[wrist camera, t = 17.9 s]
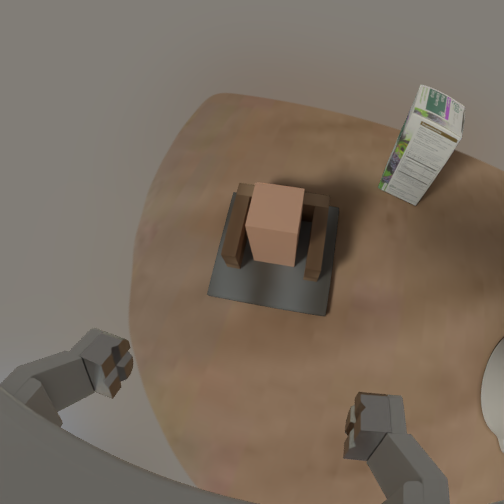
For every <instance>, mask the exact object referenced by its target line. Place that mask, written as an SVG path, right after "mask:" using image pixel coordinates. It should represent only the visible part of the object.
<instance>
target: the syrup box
mask: <svg viewBox="0 0 504 504" xmlns="http://www.w3.org/2000/svg"><path fill="white" fill-rule="evenodd" d="M464 121H465V107H464V106H463V105H462V104H460V103H459V102H457V101H456V100H454V99H453V98H451V97H449V96H447V95H445V94H444V93H442V92H440V91H438V90H435V89H433V88H431V87H428V86H425V85H422V84H421V85H420V87H419V90H418V92H417V95H416V97H415V100H414V102H413V104H412V107H411V109H410V111H409V114H408V116H407V118H406V121H405V123H404V125H403V127H402V129H401V132H400V134H399V137H398V139H397V141H396V144H395V146H394V148H393V151H392V153H391V155H390V158H389V160H388V162H387V165H386V167H385V170H384V172H383V175H382V178H381V180H380V183H379V186H378V188H379V189H381V190H383V191H385V192H387V193H389V194H392V195H394V196H396V197H398V198H400V199H402V200H404V201H406V202H408V203H411V204H413V205H415V206H416V205H417V203H418V202H419V201H420V199H421V198H422V197H423V195H424V194H425V192H426V191H427V190H428V188H429V187H430V185H431V184H432V182H433V181H434V180H435V178H436V177H437V175H438V174H439V172H440V171H441V169H442V168H443V166H444V165H445V164H446V162H447V160H448V159H449V158H450V156H451V154H452V153H453V151H454V150H455V148H456V147H457V145H458V143H459V142H460V140H461V139H462V133H463V127H464Z"/></svg>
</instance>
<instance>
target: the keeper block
mask: <svg viewBox="0 0 504 504" xmlns="http://www.w3.org/2000/svg"><path fill="white" fill-rule="evenodd" d="M304 190H305V189H303V188H296V187H289V186H282V185H275V184H268V183H260V182H256V183H255V187H254V191H253V195H252V199H251V203H250V207H249V212H248V216H247V220H246V224H245V227H246V231H247V235H248V239H249V243H250V247H251V250H252V254H253V258H254V260H255V261H261V262H267V263H273V264H279V265H285V266H291V267H294V265H295V259H296V253H297V247H298V241H299V235H300V228H301V219H302V210H303V200H304Z"/></svg>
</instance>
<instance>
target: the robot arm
mask: <svg viewBox="0 0 504 504" xmlns="http://www.w3.org/2000/svg"><path fill="white" fill-rule="evenodd" d="M129 349H130V344H129V341H128V340H126V339H123V338H121V337H118V336H116V335H113V334H110V333H108V332H105V331H102V330H99V329H97V328H93V329H91V330H90V331H89V332H88V333H87V334H86V335H85V336H84V337H83V338H82V339H81V340H80V341H79V342H78V343H77V344H76V345H75V346H74V347H73V348H72V349H71V350H70V351H69V352H68V351H63V352H61V353H58V354H55V355H52V356H48V357H45V358H42V359H39V360H36V361H33V362H31V363H27V364H24V365H21V366H18V367H17V368H16V369H15V370H14V371H13V372H12V373H11V374H10V375H9V376H8V377H7V378H6V379H5V380H4V381H3V382H2V383H1V384H0V504H258V503H253V502H248V501H244V500H240V499H235V498H231V497H227V496H223V495H220V494H216V493H212V492H209V491H205V490H202V489H199V488H196V487H192V486H189V485H186V484H183V483H180V482H177V481H174V480H171V479H168V478H166V477H163V476H160V475H158V474H155V473H153V472H150V471H148V470H145V469H143V468H140V467H138V466H135V465H133V464H131V463H129V462H127V461H124V460H122V459H120V458H118V457H116V456H113V455H111V454H109V453H107V452H105V451H103V450H101V449H99V448H97V447H95V446H93V445H91V444H89V443H87V442H85V441H84V440H82V439H80V438H78V437H76V436H74V435H73V434H71V433H69V432H68V431H66V430H64V429H62V428H61V425H62V424H63V423H62V420H61V418H60V416H59V415H58V413H57V412H58V411H60V410H62V409H64V408H66V407H68V406H70V405H72V404H74V403H75V402H77V401H79V400H81V399H83V398H85V397H87V396H89V395H91V394H93V393H94V391H95V392H97V393H99V394H102V395H105V396H107V397H109V398H112V399H113V398H114V396H115V395H116V393H117V392H118V391H119V389H120V388H121V381H123V380H126V379H127V378H128V377H129V375H130V374H131V371H132V368H133V357H132V355H131V354H130V353H129V352H128V350H129ZM481 405H482V412H483V416H484V419H485V421H486V423H487V425H488V427H489V428H490V430H491V431H492V432H493V433H494V434H495V435H496V436H497V438H498V441H499V445H500V449H501V451H502V452H503V453H504V338H503V339H502V340H501V341H500V342H499V344H498V345H497V346H496V348H495V349H494V351H493V353H492V354H491V356H490V359H489V361H488V363H487V366H486V369H485V372H484V376H483V382H482V389H481ZM345 433H346V434H347V436H348V437H347V439H346V440H345V442H344V455H343V458H344V459H353V460H363V461H367V464H368V466H369V467H370V469H371V471H372V473H373V475H374V476H375V478H376V480H377V482H378V484H379V485H380V487H381V489H382V491H383V493H384V494H385V496H386V498H387V500H386V501H384V502H383V503H382V504H450V501H449V489H448V480H447V478H446V476H445V475H444V474H443V473H442V471H441V470H440V469H439V468H438V467H437V465H436V464H435V463H434V462H433V461H432V459H431V458H430V457H429V456H428V454H427V453H426V452H425V451H424V450H423V448H422V447H421V446H420V445H419V444H418V442H417V441H416V440H415V439H414V438H413V436H412V435H411V434H407V431H406V422H405V413H404V405H403V398H402V397H401V396H397V395H386V394H376V393H365V392H358V394H357V395H356V397H355V405H354V406H352V407H351V408H350V410H349V412H348V416H347V419H346V425H345ZM489 504H504V500H502V501H498V502H494V503H489Z"/></svg>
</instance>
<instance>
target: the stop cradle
mask: <svg viewBox="0 0 504 504" xmlns="http://www.w3.org/2000/svg"><path fill="white" fill-rule="evenodd" d="M254 187H255V185H252V184H244V183H239V187H238V190H237V193H235V192H233V196H232V200H231V203H230V207H229V211H228V215H227V218H226V222H225V226H224V230H223V233H222V237H221V241H220V245H219V249H218V253H217V257H216V261H215V265H214V268H213V272H212V276H211V280H210V284H209V288H208V293H207V295H209V296H214V297H219V298H224V299H229V300H234V301H239V302H244V303H250V304H255V305H260V306H266V307H272V308H277V309H283V310H289V311H294V312H300V313H306V314H312V315H319V316H325V314H326V308H327V302H328V295H329V288H330V281H331V274H332V266H333V258H334V250H335V242H336V233H337V224H338V214H339V208H337V207H331V206H329V202H330V196H328V195H322V194H315V193H309V192H304V200H303V210H302V219H301V228H300V235H299V241H298V247H297V253H296V259H295V265H294V267H291V266H285V265H279V264H273V263H267V262H261V261H255V260H254V258H253V254H252V250H251V247H250V243H249V239H248V235H247V231H246V227H245V224H246V220H247V216H248V212H249V207H250V203H251V199H252V195H253V191H254Z"/></svg>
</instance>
